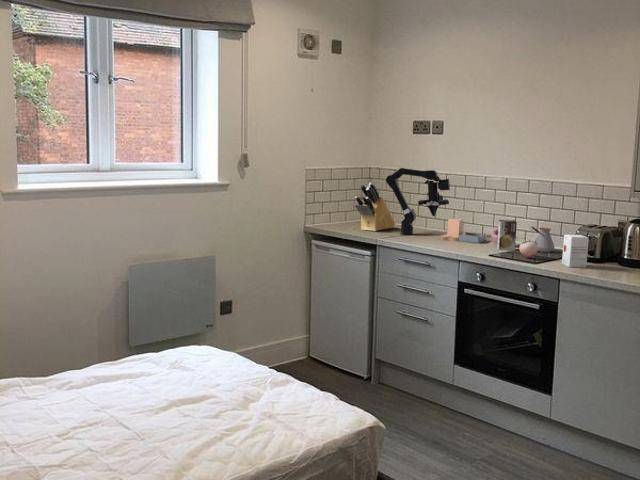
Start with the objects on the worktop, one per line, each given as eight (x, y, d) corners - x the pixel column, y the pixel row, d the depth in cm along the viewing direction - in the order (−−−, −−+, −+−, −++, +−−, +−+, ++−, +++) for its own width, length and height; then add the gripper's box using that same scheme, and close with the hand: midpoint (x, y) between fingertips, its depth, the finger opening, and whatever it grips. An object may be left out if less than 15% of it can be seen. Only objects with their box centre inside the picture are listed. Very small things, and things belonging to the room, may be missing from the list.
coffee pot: (538, 249, 402) (540, 222, 400) (557, 252, 394) (560, 225, 392) (519, 252, 387) (521, 225, 385) (538, 255, 379) (540, 227, 377)
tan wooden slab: (438, 239, 427) (438, 236, 427) (445, 236, 439) (445, 233, 439) (458, 241, 422) (458, 238, 421) (464, 238, 434) (465, 235, 434)
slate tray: (458, 241, 421) (459, 234, 421) (465, 238, 434) (465, 232, 433) (478, 243, 416) (479, 236, 415) (485, 240, 428) (485, 234, 428)
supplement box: (561, 263, 356) (563, 234, 354) (578, 264, 357) (581, 234, 355) (568, 267, 347) (571, 236, 345) (586, 267, 348) (589, 237, 346)
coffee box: (513, 248, 401) (515, 220, 398) (515, 250, 394) (517, 221, 392) (496, 247, 401) (498, 219, 399) (498, 249, 395) (500, 220, 393)
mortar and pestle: (488, 245, 408) (490, 226, 406) (493, 243, 419) (494, 223, 417) (510, 247, 403) (511, 227, 401) (514, 245, 414) (515, 225, 412)
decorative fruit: (524, 259, 364) (526, 240, 363) (516, 257, 372) (517, 238, 371) (541, 259, 367) (542, 240, 366) (532, 256, 375) (533, 237, 373)
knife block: (352, 231, 450) (354, 182, 446) (380, 226, 479) (382, 180, 474) (367, 233, 444) (369, 183, 439) (395, 228, 472) (397, 181, 468)
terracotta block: (447, 236, 428) (448, 219, 426) (450, 234, 434) (451, 218, 433) (458, 237, 425) (459, 220, 423) (461, 235, 431) (462, 219, 429)
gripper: (453, 189, 435) (454, 215, 436) (426, 190, 447) (427, 215, 449) (443, 191, 426) (444, 217, 428) (417, 191, 438) (418, 216, 440)
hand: (433, 216), depth 437 cm, fingers closed
